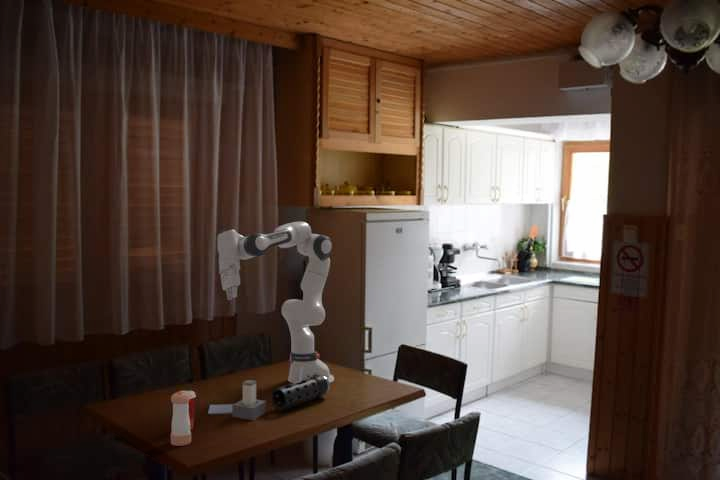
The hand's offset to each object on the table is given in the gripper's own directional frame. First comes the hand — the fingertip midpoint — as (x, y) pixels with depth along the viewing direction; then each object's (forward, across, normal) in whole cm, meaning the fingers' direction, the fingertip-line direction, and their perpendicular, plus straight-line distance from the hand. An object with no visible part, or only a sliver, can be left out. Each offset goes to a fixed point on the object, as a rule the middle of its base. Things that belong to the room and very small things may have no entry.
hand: (232, 298), depth 286 cm
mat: (+46, +4, +8) cm, 47 cm away
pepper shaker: (+53, -24, +29) cm, 65 cm away
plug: (+49, -6, -2) cm, 49 cm away
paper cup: (+50, -11, +25) cm, 57 cm away
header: (+49, -6, -2) cm, 49 cm away
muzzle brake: (+48, 0, -26) cm, 55 cm away
